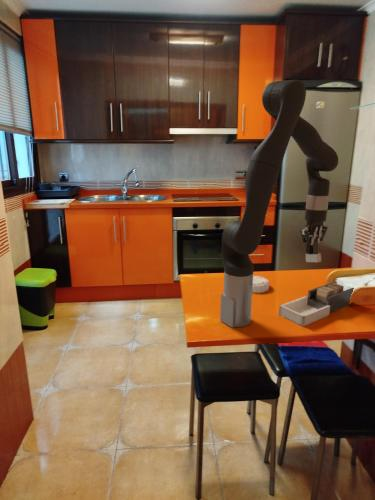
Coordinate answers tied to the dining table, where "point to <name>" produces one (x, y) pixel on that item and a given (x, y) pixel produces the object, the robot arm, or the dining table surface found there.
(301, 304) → the tray
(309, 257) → the scraper tool
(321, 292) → the chip
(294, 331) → the dining table surface
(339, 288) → the chip
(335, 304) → the slot block
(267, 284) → the mooncake
